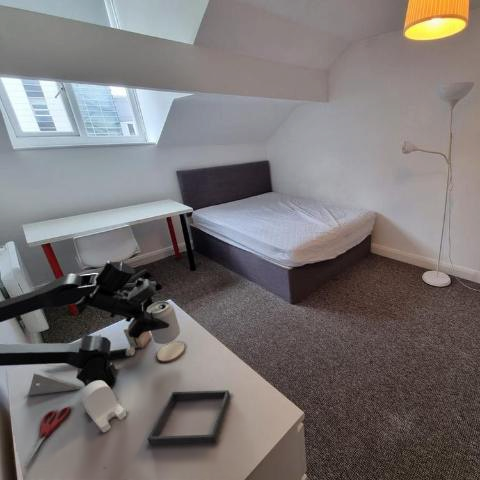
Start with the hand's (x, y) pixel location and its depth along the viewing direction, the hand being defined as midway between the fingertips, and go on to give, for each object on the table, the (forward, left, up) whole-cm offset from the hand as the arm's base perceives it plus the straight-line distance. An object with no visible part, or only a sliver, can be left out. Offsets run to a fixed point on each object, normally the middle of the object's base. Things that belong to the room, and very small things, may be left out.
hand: (167, 319), depth 83 cm
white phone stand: (-16, -15, -14) cm, 26 cm away
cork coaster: (-2, +1, -13) cm, 14 cm away
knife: (-27, +5, -12) cm, 30 cm away
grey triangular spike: (-25, -1, -15) cm, 29 cm away
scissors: (-29, -16, -12) cm, 35 cm away
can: (-1, 0, -7) cm, 7 cm away
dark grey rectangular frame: (+5, -26, -13) cm, 30 cm away
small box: (-12, +10, -13) cm, 21 cm away
